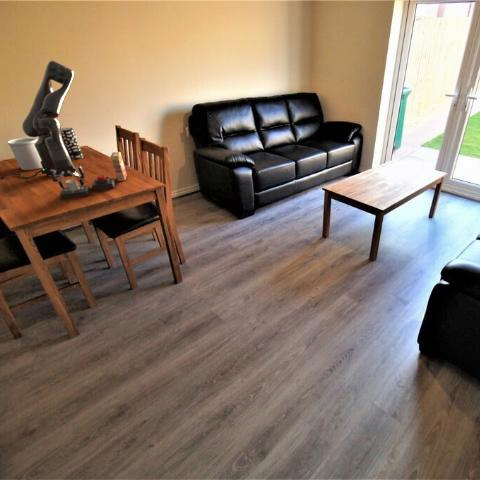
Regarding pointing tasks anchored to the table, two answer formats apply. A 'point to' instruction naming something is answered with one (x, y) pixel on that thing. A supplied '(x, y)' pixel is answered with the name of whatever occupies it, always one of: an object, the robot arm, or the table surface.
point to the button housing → (103, 184)
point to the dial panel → (75, 192)
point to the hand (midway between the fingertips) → (73, 186)
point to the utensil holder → (26, 153)
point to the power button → (101, 177)
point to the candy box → (118, 166)
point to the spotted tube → (71, 143)
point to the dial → (72, 185)
